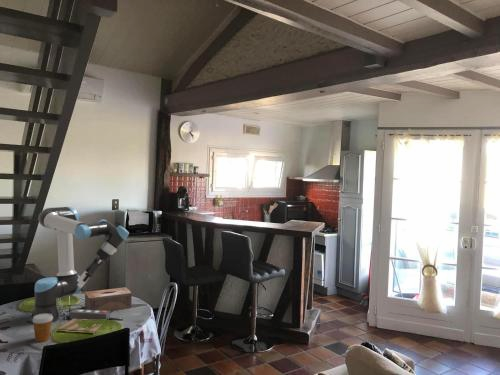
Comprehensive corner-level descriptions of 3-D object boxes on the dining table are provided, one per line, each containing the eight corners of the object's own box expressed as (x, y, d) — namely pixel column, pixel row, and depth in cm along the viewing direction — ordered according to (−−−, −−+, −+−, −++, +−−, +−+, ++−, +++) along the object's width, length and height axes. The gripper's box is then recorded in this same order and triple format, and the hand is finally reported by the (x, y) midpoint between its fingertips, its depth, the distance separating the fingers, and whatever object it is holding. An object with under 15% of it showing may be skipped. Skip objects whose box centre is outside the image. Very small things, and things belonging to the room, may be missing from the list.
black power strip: (69, 318, 234) (69, 311, 234) (74, 315, 240) (75, 308, 240) (121, 321, 232) (121, 314, 232) (125, 318, 238) (125, 310, 238)
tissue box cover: (88, 314, 243) (89, 298, 243) (84, 307, 256) (85, 292, 256) (131, 308, 257) (131, 292, 257) (125, 302, 269) (125, 287, 269)
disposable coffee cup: (27, 341, 202) (27, 317, 201) (43, 334, 211) (43, 312, 210) (41, 344, 198) (41, 320, 198) (57, 337, 207) (57, 314, 207)
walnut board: (58, 331, 215) (58, 328, 215) (73, 321, 231) (73, 318, 231) (94, 333, 214) (94, 331, 214) (107, 323, 230) (107, 320, 230)
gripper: (113, 257, 208) (85, 292, 201) (110, 253, 230) (84, 284, 224) (101, 249, 205) (72, 283, 199) (99, 245, 228) (73, 276, 222)
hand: (79, 284), depth 212 cm, fingers open, 13 cm apart
